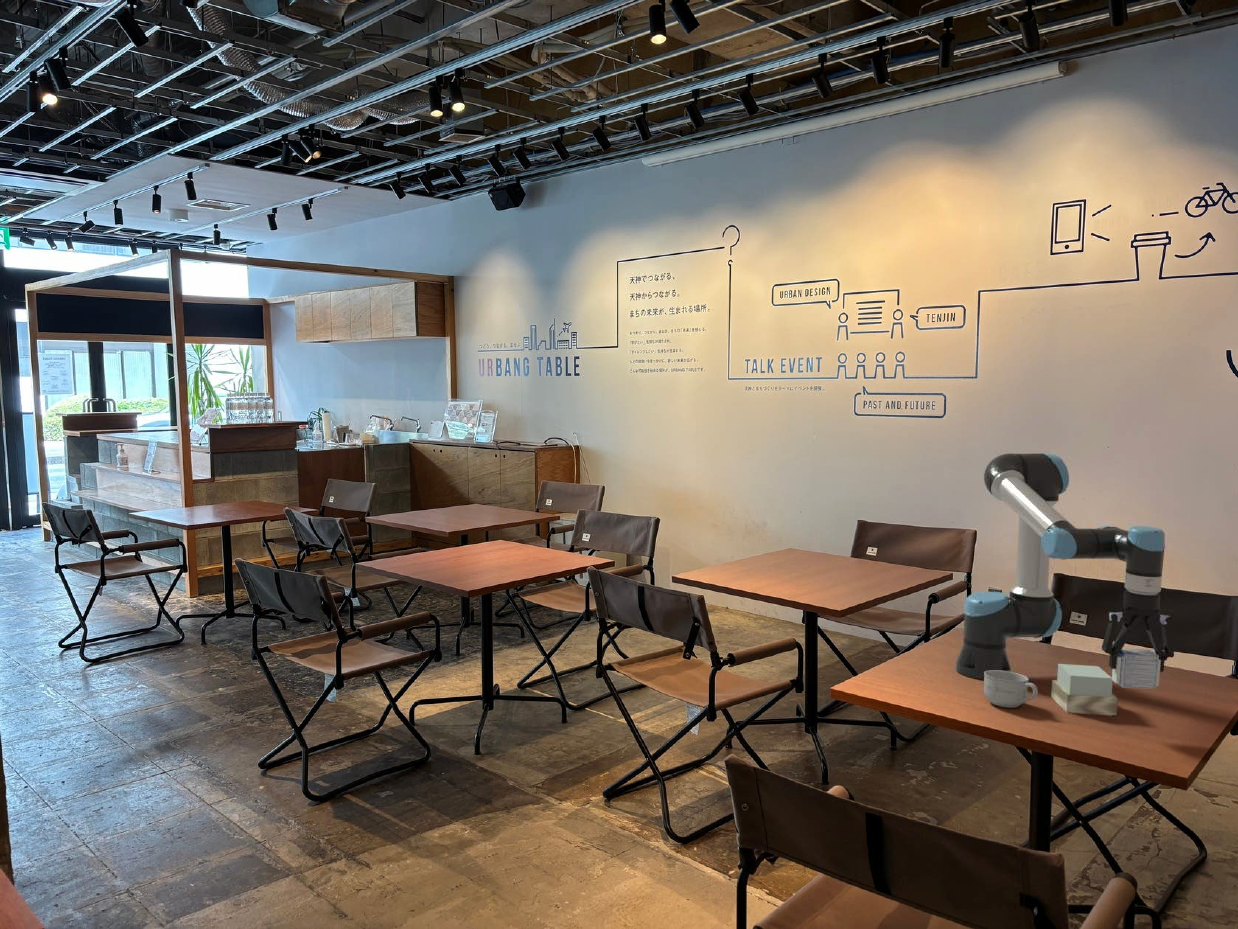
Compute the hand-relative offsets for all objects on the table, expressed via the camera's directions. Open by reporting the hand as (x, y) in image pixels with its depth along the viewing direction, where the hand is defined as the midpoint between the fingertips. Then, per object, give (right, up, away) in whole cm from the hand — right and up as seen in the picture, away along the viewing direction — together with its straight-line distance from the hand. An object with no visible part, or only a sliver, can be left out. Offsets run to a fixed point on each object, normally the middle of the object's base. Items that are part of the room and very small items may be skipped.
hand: (1134, 682), depth 212 cm
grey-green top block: (-3, -6, +17) cm, 19 cm away
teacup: (-23, -11, +17) cm, 30 cm away
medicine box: (0, -1, 0) cm, 1 cm away
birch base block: (-3, -11, +18) cm, 22 cm away
